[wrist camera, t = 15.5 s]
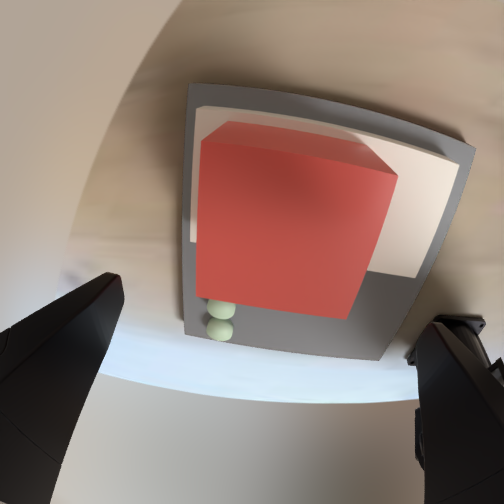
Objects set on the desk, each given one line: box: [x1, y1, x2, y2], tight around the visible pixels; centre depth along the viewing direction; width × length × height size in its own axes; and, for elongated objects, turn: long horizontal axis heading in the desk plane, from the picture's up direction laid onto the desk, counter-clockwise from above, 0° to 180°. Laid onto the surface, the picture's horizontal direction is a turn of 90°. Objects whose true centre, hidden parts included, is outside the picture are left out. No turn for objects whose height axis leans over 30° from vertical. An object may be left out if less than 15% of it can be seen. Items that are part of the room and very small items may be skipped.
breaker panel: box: [182, 83, 476, 361], centre depth 19 cm, size 17×19×3 cm
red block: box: [196, 121, 398, 319], centre depth 13 cm, size 7×7×5 cm
